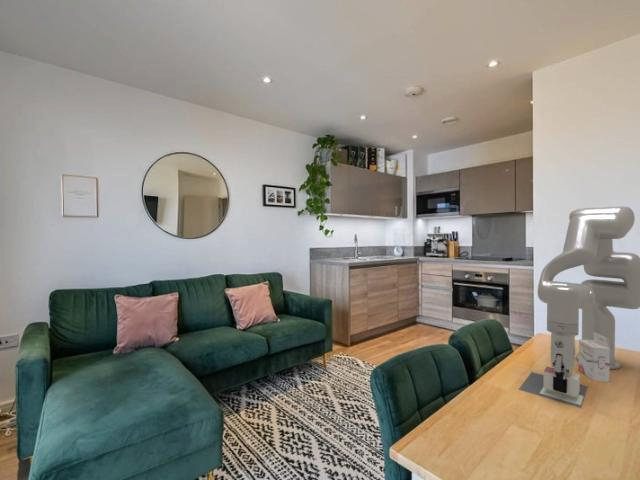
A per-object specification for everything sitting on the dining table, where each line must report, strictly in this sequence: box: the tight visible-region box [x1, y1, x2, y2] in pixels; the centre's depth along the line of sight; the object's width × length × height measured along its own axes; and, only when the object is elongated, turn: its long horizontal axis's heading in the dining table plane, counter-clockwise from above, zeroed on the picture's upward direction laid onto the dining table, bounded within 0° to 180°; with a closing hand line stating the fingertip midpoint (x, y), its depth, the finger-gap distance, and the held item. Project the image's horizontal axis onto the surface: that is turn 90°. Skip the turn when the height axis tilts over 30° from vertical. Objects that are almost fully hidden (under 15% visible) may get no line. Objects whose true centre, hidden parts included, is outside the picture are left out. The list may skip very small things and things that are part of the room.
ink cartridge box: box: [578, 332, 610, 383], centre depth 108 cm, size 9×5×15 cm, turn 168°
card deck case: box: [543, 366, 581, 397], centre depth 95 cm, size 8×5×5 cm, turn 45°
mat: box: [518, 371, 588, 409], centre depth 99 cm, size 18×15×1 cm
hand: (561, 387), depth 95 cm, fingers closed on card deck case, 4 cm apart
